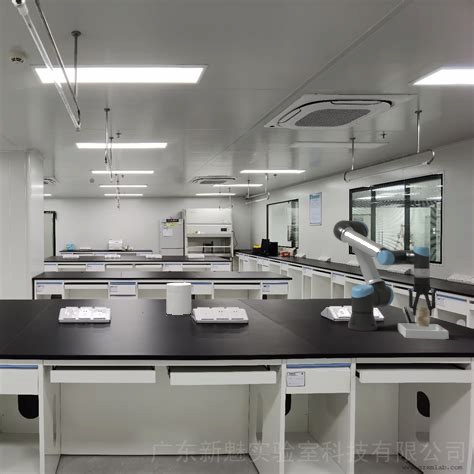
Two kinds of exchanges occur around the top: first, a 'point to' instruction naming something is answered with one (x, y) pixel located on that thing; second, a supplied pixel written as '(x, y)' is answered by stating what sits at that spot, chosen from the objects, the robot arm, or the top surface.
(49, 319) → the top surface
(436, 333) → the tray
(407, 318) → the hinge
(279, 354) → the top surface
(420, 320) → the tan cylinder
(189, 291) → the canister
